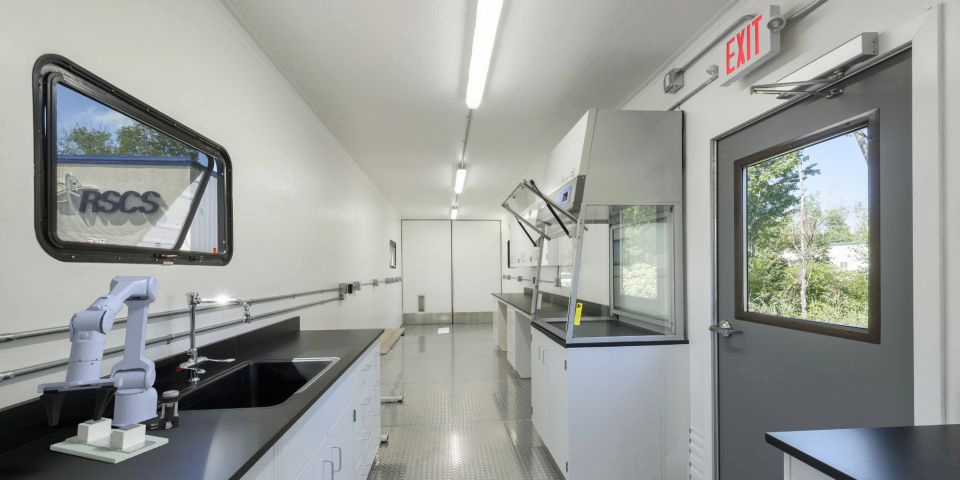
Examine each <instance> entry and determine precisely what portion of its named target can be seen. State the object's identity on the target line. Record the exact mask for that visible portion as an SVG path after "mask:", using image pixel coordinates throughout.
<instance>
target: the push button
mask: <svg viewBox="0 0 960 480" xmlns="http://www.w3.org/2000/svg"><path fill="white" fill-rule="evenodd" d="M182 395H183V393H182V392H179V390H175V389H174V390H173V389H172V390H167V391H164V392H162V395H159V397H158V399H159V403H160V404H162V406H161V408H162V409H161V416H160V417H159V419H158V423H152V424H151V425H150V426H153V427H150V429H152V430H153V429H154V430H155V429H158V431H160V430H166V429H168V430H169V429H172V428H178V427H179V424H180V416H179V413H178V404H179V401H180V400H182Z"/></svg>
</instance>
